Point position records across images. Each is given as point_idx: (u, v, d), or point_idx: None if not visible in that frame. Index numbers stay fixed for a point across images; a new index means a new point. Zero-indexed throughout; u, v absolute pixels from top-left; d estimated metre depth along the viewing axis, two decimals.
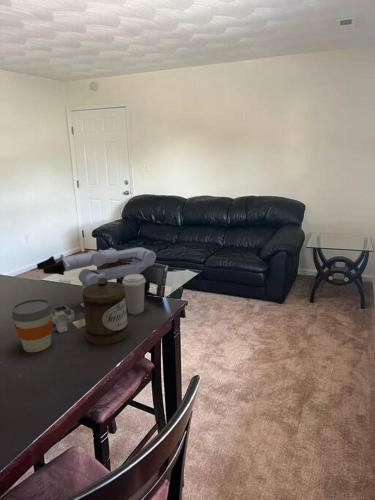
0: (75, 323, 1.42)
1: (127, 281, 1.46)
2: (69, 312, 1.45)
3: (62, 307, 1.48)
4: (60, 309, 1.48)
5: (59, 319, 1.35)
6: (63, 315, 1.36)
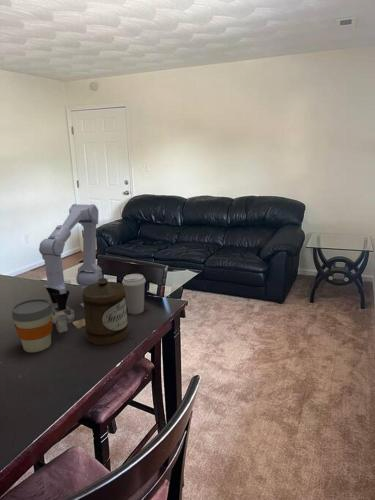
0: (75, 323, 1.42)
1: (127, 281, 1.46)
2: (69, 312, 1.45)
3: None
4: None
5: (59, 319, 1.35)
6: (63, 315, 1.36)
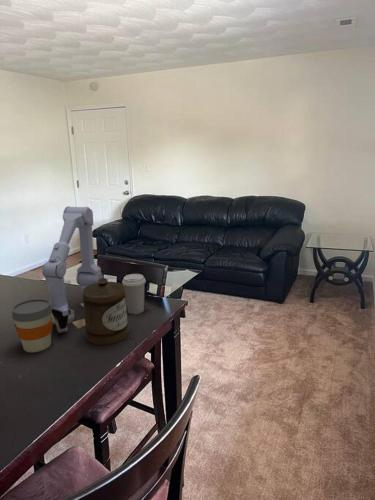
0: (75, 323, 1.42)
1: (127, 281, 1.46)
2: None
3: None
4: None
5: None
6: None
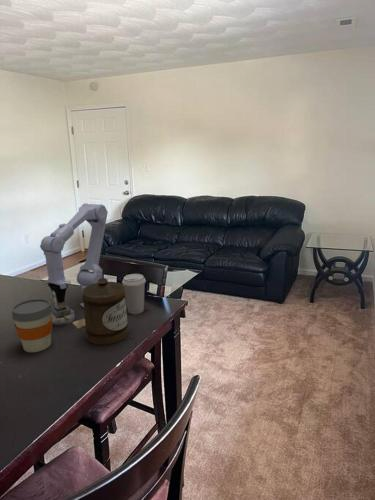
0: (75, 323, 1.42)
1: (127, 281, 1.46)
2: (69, 312, 1.45)
3: None
4: (60, 309, 1.48)
5: None
6: None
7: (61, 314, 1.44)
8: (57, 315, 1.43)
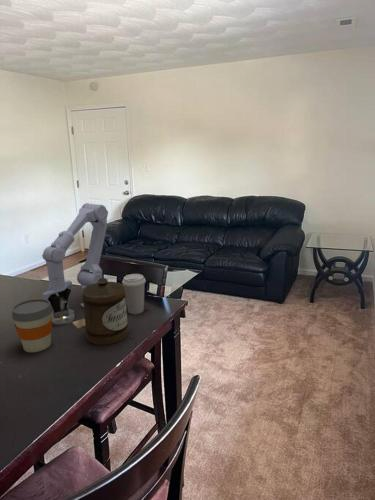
0: (75, 323, 1.42)
1: (127, 281, 1.46)
2: (67, 313, 1.44)
3: None
4: None
5: None
6: (59, 300, 1.43)
7: (59, 314, 1.43)
8: (54, 315, 1.43)
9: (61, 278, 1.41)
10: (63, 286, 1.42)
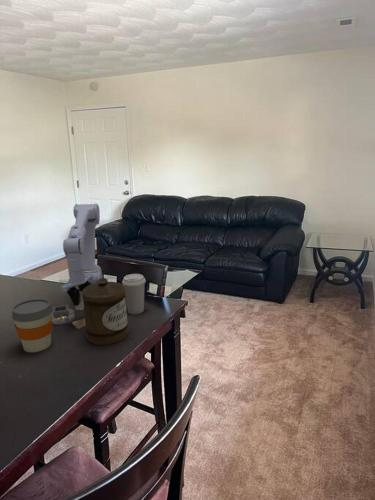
0: (75, 323, 1.42)
1: (127, 281, 1.46)
2: (67, 313, 1.44)
3: (64, 307, 1.48)
4: (62, 309, 1.48)
5: None
6: (79, 294, 1.38)
7: (58, 314, 1.43)
8: (54, 315, 1.43)
9: (81, 271, 1.35)
10: (83, 279, 1.37)
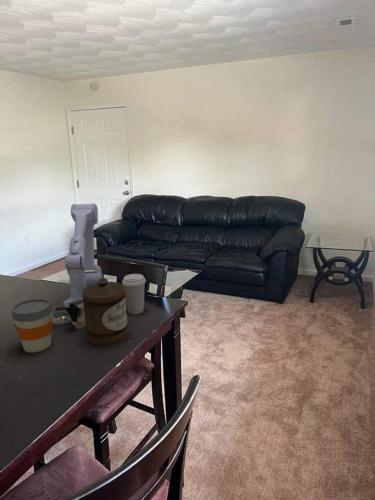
0: (75, 323, 1.42)
1: (127, 281, 1.46)
2: (67, 313, 1.44)
3: None
4: (62, 309, 1.48)
5: (77, 311, 1.40)
6: (81, 308, 1.40)
7: (58, 314, 1.43)
8: (54, 315, 1.43)
9: (83, 286, 1.37)
10: None
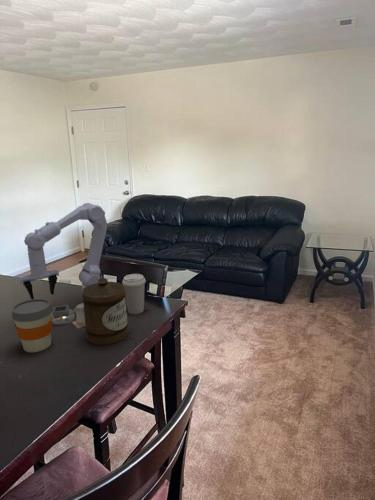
0: (75, 323, 1.42)
1: (127, 281, 1.46)
2: (67, 313, 1.44)
3: (64, 307, 1.48)
4: (62, 309, 1.48)
5: (77, 311, 1.40)
6: (81, 308, 1.40)
7: (58, 314, 1.43)
8: (54, 315, 1.43)
9: (38, 266, 1.39)
10: (41, 274, 1.41)
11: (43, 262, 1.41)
